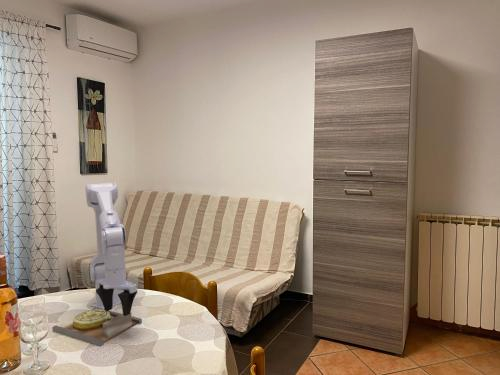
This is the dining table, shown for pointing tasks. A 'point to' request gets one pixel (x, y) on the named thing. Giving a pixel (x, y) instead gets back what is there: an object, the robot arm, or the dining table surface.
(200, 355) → the dining table surface
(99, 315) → the decorated donut
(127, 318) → the brown square board
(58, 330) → the rails
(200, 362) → the dining table surface
